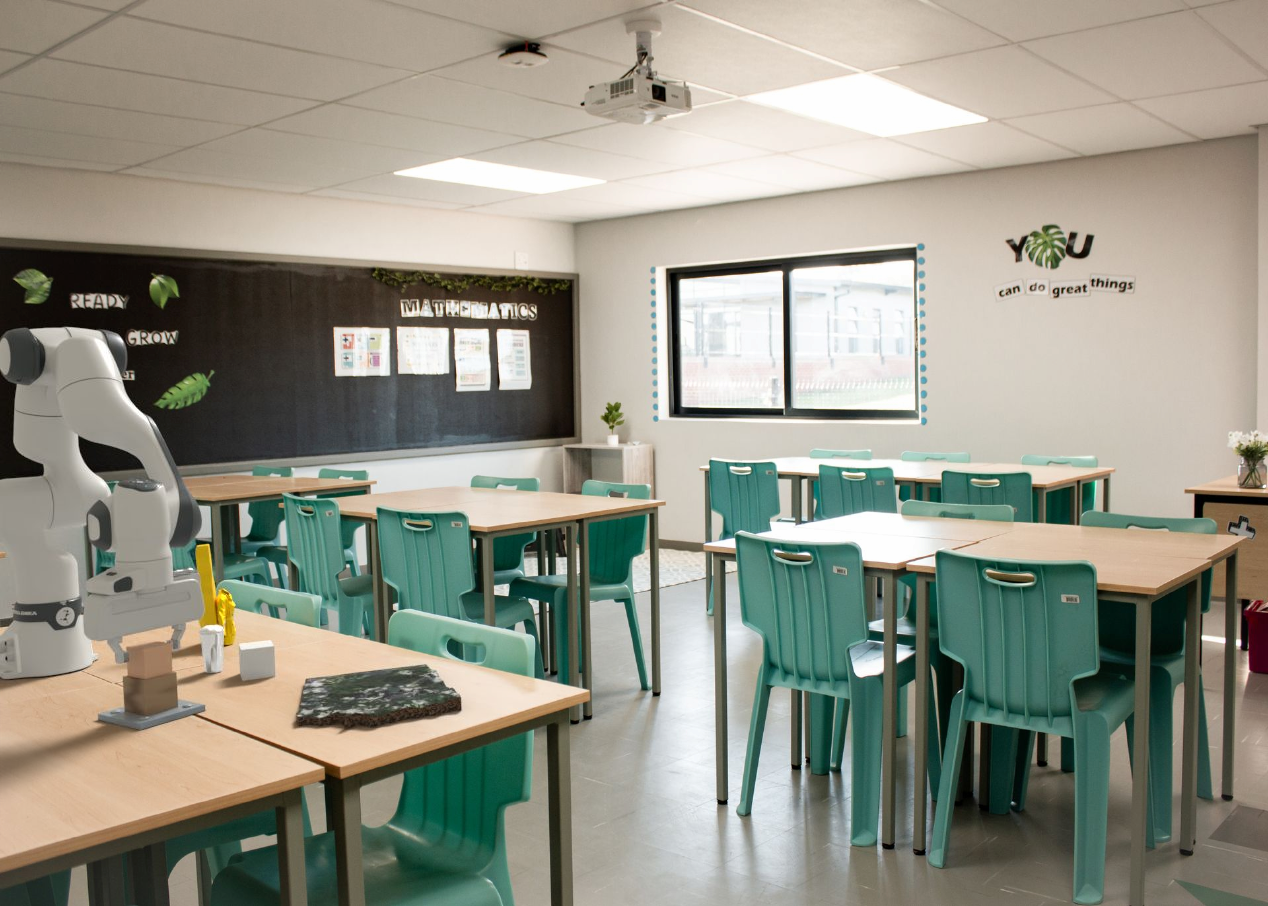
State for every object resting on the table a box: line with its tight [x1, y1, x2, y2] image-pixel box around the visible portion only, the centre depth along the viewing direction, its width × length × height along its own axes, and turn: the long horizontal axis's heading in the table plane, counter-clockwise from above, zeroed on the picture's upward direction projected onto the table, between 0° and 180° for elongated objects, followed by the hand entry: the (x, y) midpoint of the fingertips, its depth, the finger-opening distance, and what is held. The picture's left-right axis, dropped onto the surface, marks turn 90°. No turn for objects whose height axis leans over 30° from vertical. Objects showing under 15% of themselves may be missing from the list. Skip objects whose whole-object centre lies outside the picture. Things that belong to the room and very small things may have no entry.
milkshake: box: [198, 621, 226, 674], centre depth 210 cm, size 4×5×10 cm
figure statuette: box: [195, 543, 237, 646], centre depth 234 cm, size 18×8×22 cm, turn 17°
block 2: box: [122, 671, 179, 716], centre depth 181 cm, size 6×6×6 cm
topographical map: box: [295, 664, 463, 730], centre depth 187 cm, size 26×33×3 cm
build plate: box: [97, 698, 206, 731], centre depth 181 cm, size 12×12×1 cm
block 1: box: [125, 640, 174, 680], centre depth 181 cm, size 5×5×5 cm
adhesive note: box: [238, 639, 277, 682], centre depth 206 cm, size 6×6×6 cm
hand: (148, 656), depth 181 cm, fingers open, 8 cm apart
